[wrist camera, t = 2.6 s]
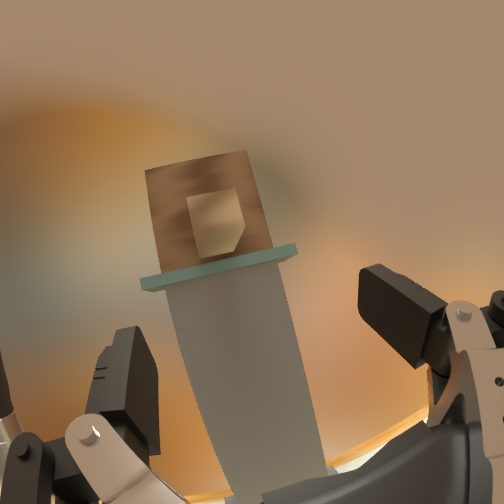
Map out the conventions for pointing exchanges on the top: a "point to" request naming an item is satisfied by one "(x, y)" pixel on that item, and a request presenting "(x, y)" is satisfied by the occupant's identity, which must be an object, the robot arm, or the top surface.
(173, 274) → the stand
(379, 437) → the top surface
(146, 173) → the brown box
